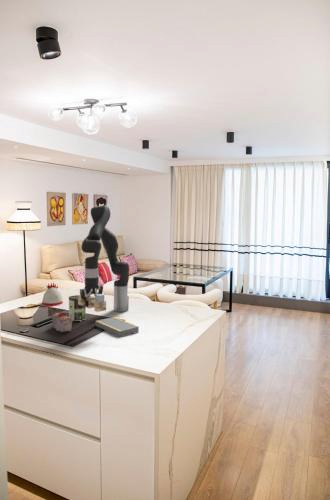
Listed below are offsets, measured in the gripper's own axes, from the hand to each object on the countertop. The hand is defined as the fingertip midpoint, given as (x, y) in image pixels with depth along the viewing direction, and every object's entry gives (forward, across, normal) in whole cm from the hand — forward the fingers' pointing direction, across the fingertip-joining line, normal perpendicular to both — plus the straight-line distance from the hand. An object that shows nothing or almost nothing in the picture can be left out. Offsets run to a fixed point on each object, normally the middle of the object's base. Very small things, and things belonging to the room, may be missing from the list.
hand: (91, 305), depth 205 cm
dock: (+15, -13, +6) cm, 20 cm away
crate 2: (-4, 0, +8) cm, 9 cm away
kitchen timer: (+15, -11, -69) cm, 71 cm away
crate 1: (-4, 0, -8) cm, 9 cm away
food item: (+15, +12, -12) cm, 23 cm away
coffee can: (+15, -5, -24) cm, 29 cm away
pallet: (+1, 0, 0) cm, 1 cm away
